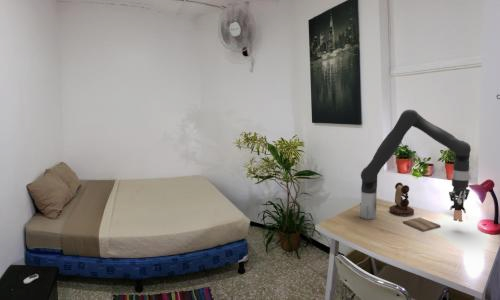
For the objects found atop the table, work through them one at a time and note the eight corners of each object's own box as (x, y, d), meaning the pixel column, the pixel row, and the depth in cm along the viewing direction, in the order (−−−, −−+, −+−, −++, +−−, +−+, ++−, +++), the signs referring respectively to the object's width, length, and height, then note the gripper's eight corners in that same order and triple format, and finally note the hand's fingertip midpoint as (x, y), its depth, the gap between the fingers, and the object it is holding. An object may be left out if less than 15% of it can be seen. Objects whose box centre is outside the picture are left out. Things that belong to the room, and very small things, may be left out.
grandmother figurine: (464, 220, 168) (466, 198, 166) (465, 222, 165) (467, 200, 163) (448, 218, 172) (450, 196, 170) (448, 220, 169) (450, 198, 167)
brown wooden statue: (384, 209, 205) (385, 181, 202) (404, 208, 207) (405, 180, 204) (397, 217, 191) (398, 187, 188) (419, 215, 192) (420, 186, 189)
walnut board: (422, 231, 169) (423, 229, 169) (402, 223, 182) (402, 221, 182) (440, 227, 174) (440, 225, 174) (419, 219, 187) (419, 217, 187)
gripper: (462, 175, 170) (460, 203, 173) (444, 178, 165) (442, 207, 168) (476, 178, 163) (473, 207, 166) (458, 181, 158) (456, 212, 161)
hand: (458, 207), depth 167 cm, fingers closed on grandmother figurine, 3 cm apart
